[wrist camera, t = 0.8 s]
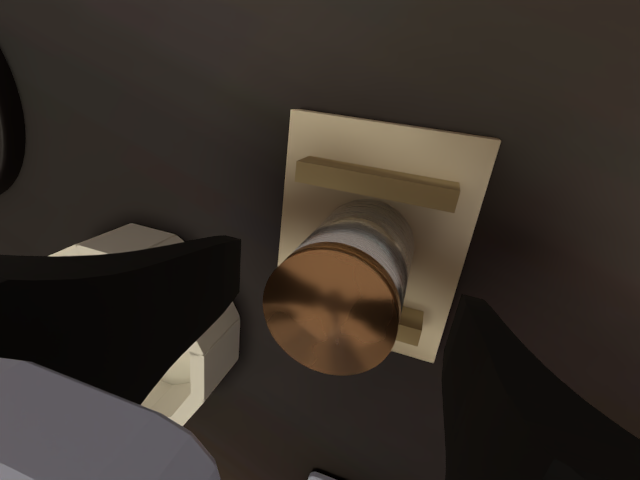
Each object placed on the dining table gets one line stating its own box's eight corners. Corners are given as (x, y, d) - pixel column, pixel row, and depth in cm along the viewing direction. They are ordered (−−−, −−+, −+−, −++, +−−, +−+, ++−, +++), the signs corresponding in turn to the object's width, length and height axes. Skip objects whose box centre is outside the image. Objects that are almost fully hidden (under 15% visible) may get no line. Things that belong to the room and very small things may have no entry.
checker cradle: (434, 350, 18) (432, 385, 15) (281, 306, 20) (260, 332, 17) (497, 138, 14) (507, 145, 12) (299, 108, 16) (275, 110, 13)
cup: (236, 409, 23) (204, 456, 20) (96, 357, 26) (49, 391, 23) (243, 251, 19) (203, 280, 16) (74, 208, 22) (12, 226, 19)
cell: (403, 295, 16) (382, 392, 11) (317, 273, 17) (259, 352, 12) (424, 209, 15) (412, 272, 9) (328, 190, 15) (266, 237, 10)
